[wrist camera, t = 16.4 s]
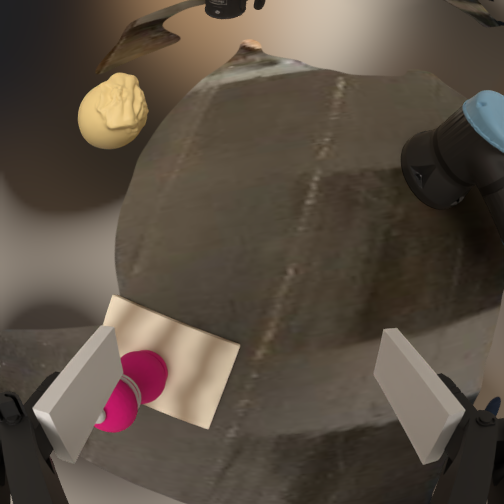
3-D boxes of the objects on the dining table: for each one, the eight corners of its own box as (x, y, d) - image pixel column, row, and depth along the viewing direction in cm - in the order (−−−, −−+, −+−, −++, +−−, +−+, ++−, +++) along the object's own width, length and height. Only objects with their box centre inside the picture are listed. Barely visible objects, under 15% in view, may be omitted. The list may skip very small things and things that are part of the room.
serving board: (239, 344, 45) (240, 346, 43) (209, 424, 43) (208, 429, 41) (117, 294, 45) (112, 294, 43) (92, 374, 43) (87, 377, 41)
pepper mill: (174, 352, 42) (133, 393, 23) (168, 398, 41) (128, 461, 22) (127, 341, 42) (59, 369, 22) (122, 386, 41) (59, 437, 21)
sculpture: (154, 149, 49) (138, 115, 38) (89, 163, 48) (62, 135, 37) (153, 96, 50) (140, 58, 39) (93, 110, 49) (71, 78, 38)
